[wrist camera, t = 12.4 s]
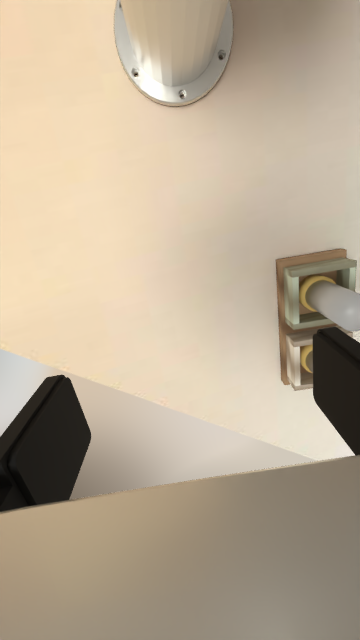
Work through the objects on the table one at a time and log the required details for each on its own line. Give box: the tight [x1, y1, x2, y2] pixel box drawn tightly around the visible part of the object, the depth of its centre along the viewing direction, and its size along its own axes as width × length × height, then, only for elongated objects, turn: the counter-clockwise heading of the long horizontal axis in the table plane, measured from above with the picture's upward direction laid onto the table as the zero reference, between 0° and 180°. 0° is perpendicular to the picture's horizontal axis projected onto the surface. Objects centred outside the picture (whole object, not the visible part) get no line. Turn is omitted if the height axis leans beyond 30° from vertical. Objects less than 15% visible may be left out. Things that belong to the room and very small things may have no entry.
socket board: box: [276, 249, 357, 391], centre depth 40 cm, size 20×9×4 cm, turn 10°
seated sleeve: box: [299, 274, 360, 331], centre depth 34 cm, size 5×5×10 cm
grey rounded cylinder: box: [300, 344, 313, 373], centre depth 38 cm, size 5×5×10 cm
